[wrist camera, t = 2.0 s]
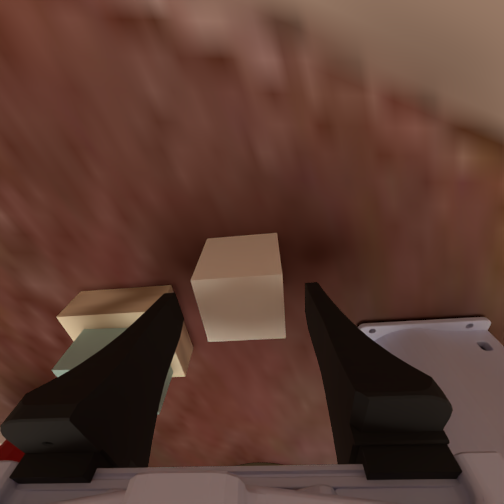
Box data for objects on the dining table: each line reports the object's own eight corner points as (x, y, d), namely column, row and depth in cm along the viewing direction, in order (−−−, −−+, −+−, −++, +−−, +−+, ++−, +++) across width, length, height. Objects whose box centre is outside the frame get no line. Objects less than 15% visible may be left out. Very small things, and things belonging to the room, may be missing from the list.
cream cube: (277, 232, 16) (282, 274, 12) (280, 287, 18) (285, 338, 14) (207, 237, 16) (190, 280, 12) (219, 291, 18) (208, 341, 14)
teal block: (154, 327, 16) (134, 368, 14) (173, 372, 19) (159, 414, 16) (83, 329, 17) (51, 370, 14) (111, 372, 19) (88, 414, 17)
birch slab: (172, 281, 18) (158, 311, 16) (194, 344, 22) (185, 376, 19) (84, 288, 19) (56, 317, 16) (119, 347, 22) (101, 379, 20)
